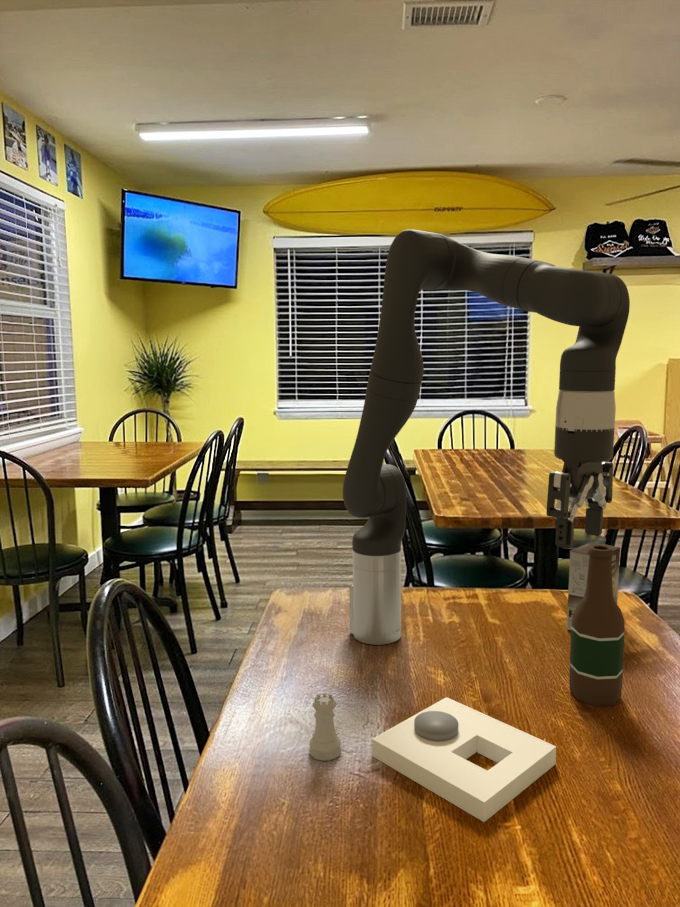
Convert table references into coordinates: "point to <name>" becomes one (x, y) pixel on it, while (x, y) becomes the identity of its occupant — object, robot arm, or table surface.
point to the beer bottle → (597, 636)
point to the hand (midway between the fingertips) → (579, 540)
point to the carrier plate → (464, 756)
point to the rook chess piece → (324, 730)
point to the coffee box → (580, 573)
